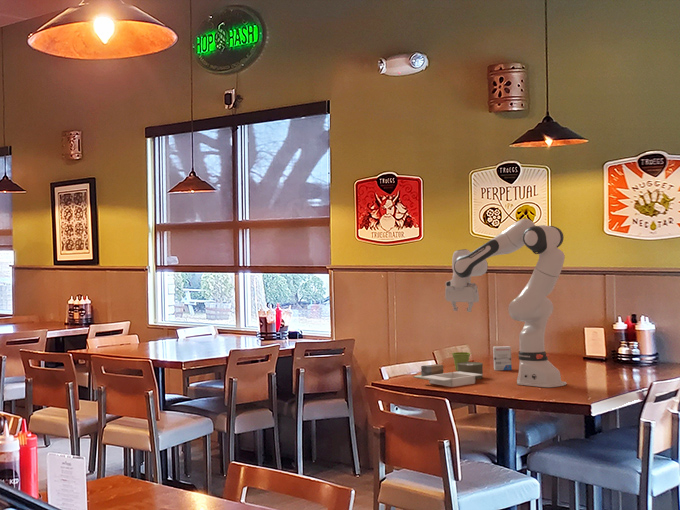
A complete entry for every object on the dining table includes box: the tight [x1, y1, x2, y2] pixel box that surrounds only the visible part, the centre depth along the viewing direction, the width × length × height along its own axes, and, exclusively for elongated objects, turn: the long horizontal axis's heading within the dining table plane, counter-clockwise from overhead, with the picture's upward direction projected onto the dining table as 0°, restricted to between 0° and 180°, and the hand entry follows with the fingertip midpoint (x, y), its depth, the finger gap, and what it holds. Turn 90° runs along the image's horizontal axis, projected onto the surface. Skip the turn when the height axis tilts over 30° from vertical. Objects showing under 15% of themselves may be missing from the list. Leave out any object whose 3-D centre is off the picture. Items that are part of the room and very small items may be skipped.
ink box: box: [492, 345, 513, 371], centre depth 408 cm, size 9×5×12 cm, turn 84°
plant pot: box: [451, 351, 471, 372], centre depth 409 cm, size 9×9×9 cm
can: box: [457, 361, 484, 380], centre depth 384 cm, size 12×12×7 cm
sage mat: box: [413, 374, 429, 381], centre depth 388 cm, size 12×12×1 cm
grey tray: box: [420, 371, 484, 388], centre depth 368 cm, size 15×25×4 cm, turn 125°
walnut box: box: [420, 363, 444, 377], centre depth 388 cm, size 5×10×5 cm, turn 126°
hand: (462, 311), depth 392 cm, fingers open, 8 cm apart
